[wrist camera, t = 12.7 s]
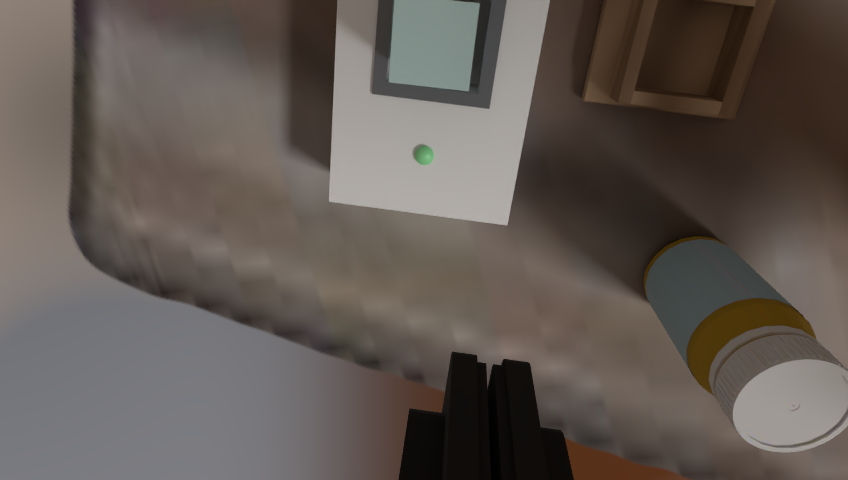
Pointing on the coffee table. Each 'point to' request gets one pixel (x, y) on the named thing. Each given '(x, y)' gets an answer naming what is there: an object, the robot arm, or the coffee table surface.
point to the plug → (433, 43)
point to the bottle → (747, 346)
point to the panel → (433, 116)
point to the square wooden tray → (676, 54)
